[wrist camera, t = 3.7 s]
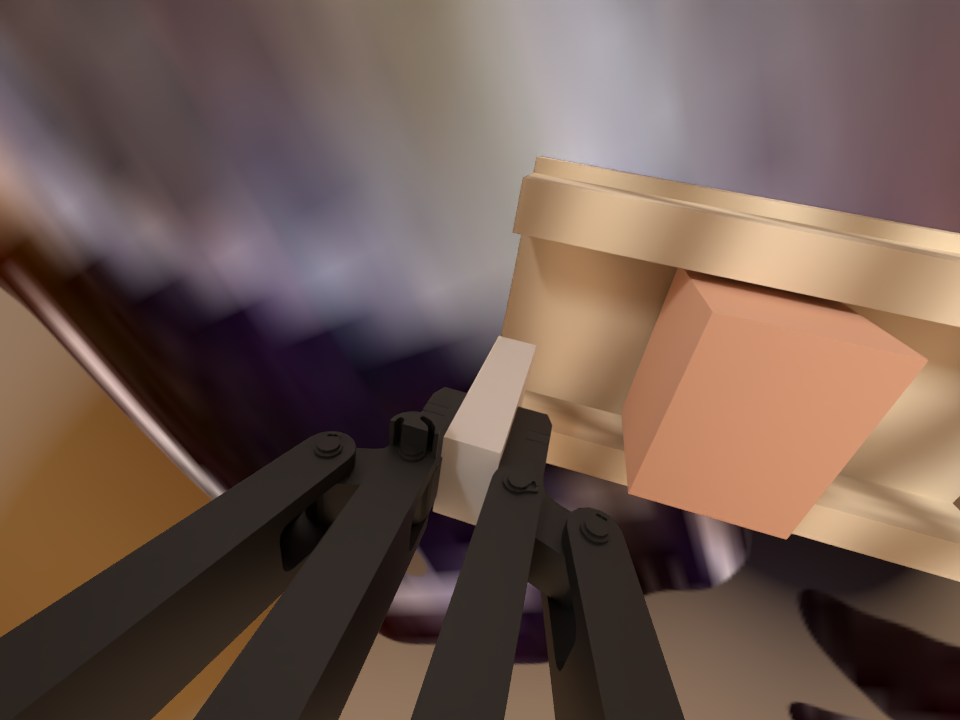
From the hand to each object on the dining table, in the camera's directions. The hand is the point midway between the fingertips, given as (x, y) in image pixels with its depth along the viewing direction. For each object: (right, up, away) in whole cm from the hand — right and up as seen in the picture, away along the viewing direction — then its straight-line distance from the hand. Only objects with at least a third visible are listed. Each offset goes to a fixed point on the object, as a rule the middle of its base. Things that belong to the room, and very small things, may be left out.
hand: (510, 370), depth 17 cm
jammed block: (+10, 0, +3) cm, 10 cm away
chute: (+12, 0, +4) cm, 13 cm away
